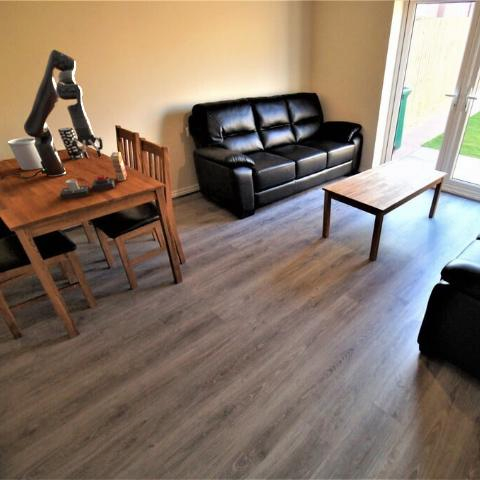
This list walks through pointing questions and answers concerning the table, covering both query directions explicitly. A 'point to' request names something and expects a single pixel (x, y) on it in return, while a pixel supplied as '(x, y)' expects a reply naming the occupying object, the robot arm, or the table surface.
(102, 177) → the power button
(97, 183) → the button housing
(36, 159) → the utensil holder
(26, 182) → the table surface
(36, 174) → the robot arm
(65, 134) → the spotted tube
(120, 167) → the candy box
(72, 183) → the dial
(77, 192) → the dial panel
